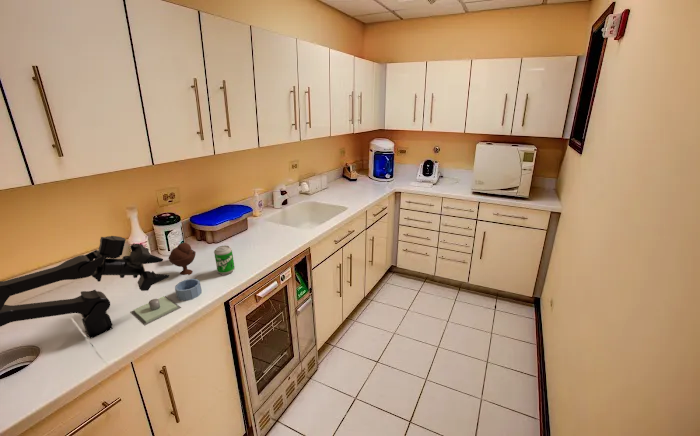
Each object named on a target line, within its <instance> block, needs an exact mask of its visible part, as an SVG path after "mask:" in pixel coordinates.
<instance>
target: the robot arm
mask: <svg viewBox="0 0 700 436" xmlns="http://www.w3.org/2000/svg"><path fill="white" fill-rule="evenodd" d="M126 241H127V240H126V238H125V237H122V236H117V235H108V236H100V239H99V245H98V249H95V250H93V251H91V252H89V253H87V254H85V255H84V254H82V255H81V254H80V255H76V256H74V257H73V258H71V259H67V260H65V261H63V262H62V263H61V264H59V265H56V266H53V267H51V268H47V269H43V270H39V271H36V272H33V273H29V274H25V275H22V276H18V277H14V278H12V279H11V278H10V279H7V280H2V281H0V328H1V327H3V326H5V325H7V324H10V323H13V322H19V321H29V320H35V319H40V318H48V317H57V316H62V315H69V314H79V315H81V316H82V318H81V321H82V324H83V327H84V330H85V331H84V332H85V333H86V334H85V335H87V336H88V337H89V339H90V340H91V339H94V338H96V337H98V336H100V335H102V334H105V333H107V332H109V331H111V330H113V329H114V328H113V323H112V320H111V317H110V315H109V313H107V312H108V310H109V309H110V306H111V300H109V298H108V297H107V296H106V294H104V292H102V291H101V290H100V291H99V290H96V289H92V290H88V291H85V290H84V291H83V290H82V291H80V295H78V296H77V297H73V298H69V299H68V298H65V299H60V300H49V301H41V302H34V303H33V302H32V303H25V304H16V305H15V304H14V305H9V304H6V302H7V300H8V299H9V298H11V296H15V295H17V294H21V293H24V292H27V291H28V292H29V291H31V290H35V289H37V288H42V287H44V286H47V285H48V286H49V285H51V284H54V283H57V282H60V281H66V280H67V281H68V280H69V281H73V280H81V279H85V278H89V277H92V278H94V279H95V280H96V281H97V282H101V280H102V277H103V276H119V278H120V279H124V278H125V276H132V278H134V279H137V278H138V276H139V278H138V280H137V285H138V288H139V290H140V291H142V292H145V291H146V292H148V291H149V290H150V288H151V287H152V286H154V285H155V284H157V283H160V282H162V281H164V280H166V279H168V278H170V276H171V275H170V274H167V273H166V274H165V273H156V272H155V271H153V270H151V271H149V270H146V268H145V266H144V265H147V264H154V263H155V264H156V263H161V262H163V261H164V259H163V258H162V257H158V256H156V255H154V254H151V253H150V251H149V248H148V247H145V246H144V245H143V244H142V243H140V244H139V243H132V244H131V245H130V247H129V248H130V250H131V251H130V254H129V255H125V256H122V255H123V251H124V248H125V243H126ZM120 257H122V258H120Z"/></svg>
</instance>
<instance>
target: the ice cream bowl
mask: <svg viewBox="0 0 700 436" xmlns="http://www.w3.org/2000/svg"><path fill="white" fill-rule="evenodd" d="M177 246H178V247H176V248H173V249H171V251H170V253H169V254H170V255H169V256H168V258H167V259H168V261H169V262H170V263H171V264H172V265H174V266H175V267H181V268H182V270H181V271H180V272H179V275H181V276H186V275H188V276H190V275H192V274H193V270H192V269H190V268H188V266H189V265H190V264H192V263H193V262H194V260H195V258H196V251H195V250H193V249H192V247H191V245H190V244H189V243H187V242H181V243H179V244H178V245H177Z"/></svg>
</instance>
